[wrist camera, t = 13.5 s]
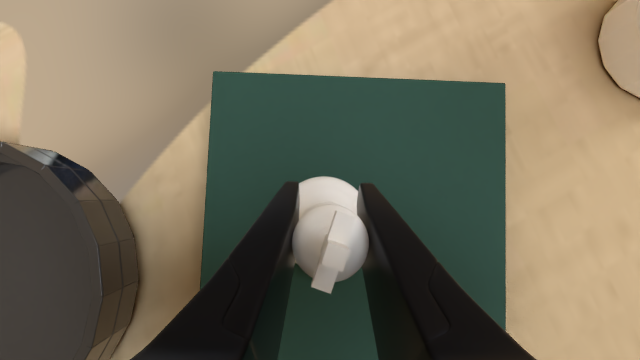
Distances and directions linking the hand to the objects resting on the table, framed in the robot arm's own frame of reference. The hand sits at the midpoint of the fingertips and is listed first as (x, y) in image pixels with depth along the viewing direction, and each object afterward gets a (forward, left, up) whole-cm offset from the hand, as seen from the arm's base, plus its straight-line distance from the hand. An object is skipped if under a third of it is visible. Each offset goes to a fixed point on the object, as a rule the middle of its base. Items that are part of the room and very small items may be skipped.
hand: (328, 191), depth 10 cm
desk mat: (-3, -2, -7) cm, 8 cm away
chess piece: (-1, 0, -6) cm, 7 cm away
